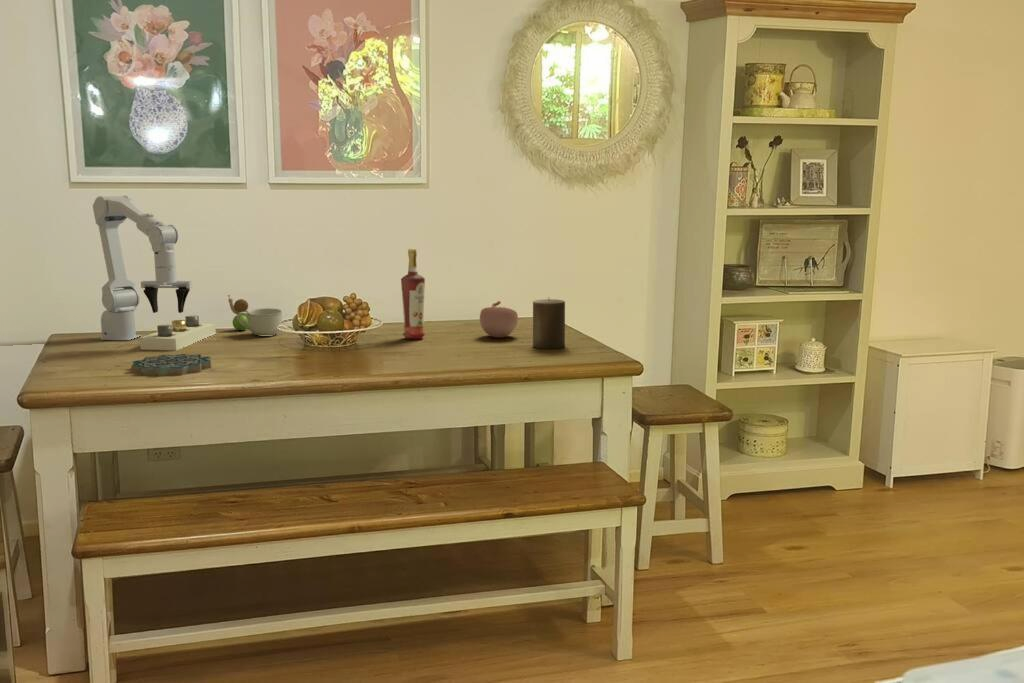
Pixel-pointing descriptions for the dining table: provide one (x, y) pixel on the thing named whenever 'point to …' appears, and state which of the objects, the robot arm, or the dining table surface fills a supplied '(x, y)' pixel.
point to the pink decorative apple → (498, 320)
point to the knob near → (164, 330)
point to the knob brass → (178, 325)
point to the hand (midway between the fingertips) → (168, 312)
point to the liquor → (413, 299)
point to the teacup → (262, 320)
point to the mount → (177, 338)
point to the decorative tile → (171, 365)
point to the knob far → (192, 321)
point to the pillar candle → (549, 323)
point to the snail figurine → (237, 308)
